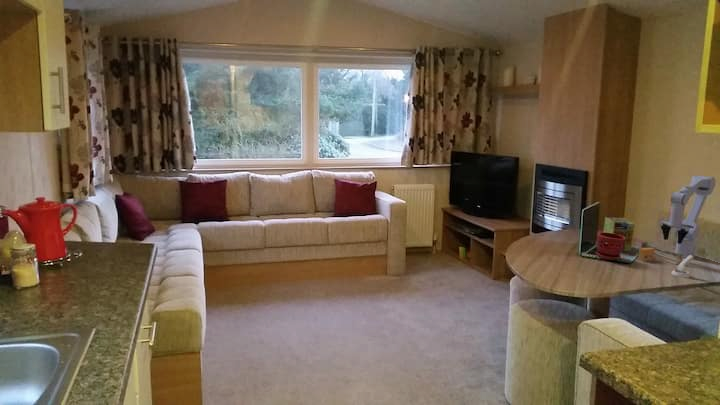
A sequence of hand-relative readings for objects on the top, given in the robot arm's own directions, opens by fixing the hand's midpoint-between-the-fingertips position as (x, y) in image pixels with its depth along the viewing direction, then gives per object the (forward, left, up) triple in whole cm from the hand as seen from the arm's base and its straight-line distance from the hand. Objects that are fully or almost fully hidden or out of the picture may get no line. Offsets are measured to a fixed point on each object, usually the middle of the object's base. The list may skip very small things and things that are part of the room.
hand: (672, 241), depth 274 cm
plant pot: (+31, -11, -10) cm, 34 cm away
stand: (+3, -3, -9) cm, 10 cm away
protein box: (+10, -25, -10) cm, 29 cm away
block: (+14, -3, -9) cm, 17 cm away
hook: (+19, +20, -10) cm, 29 cm away
